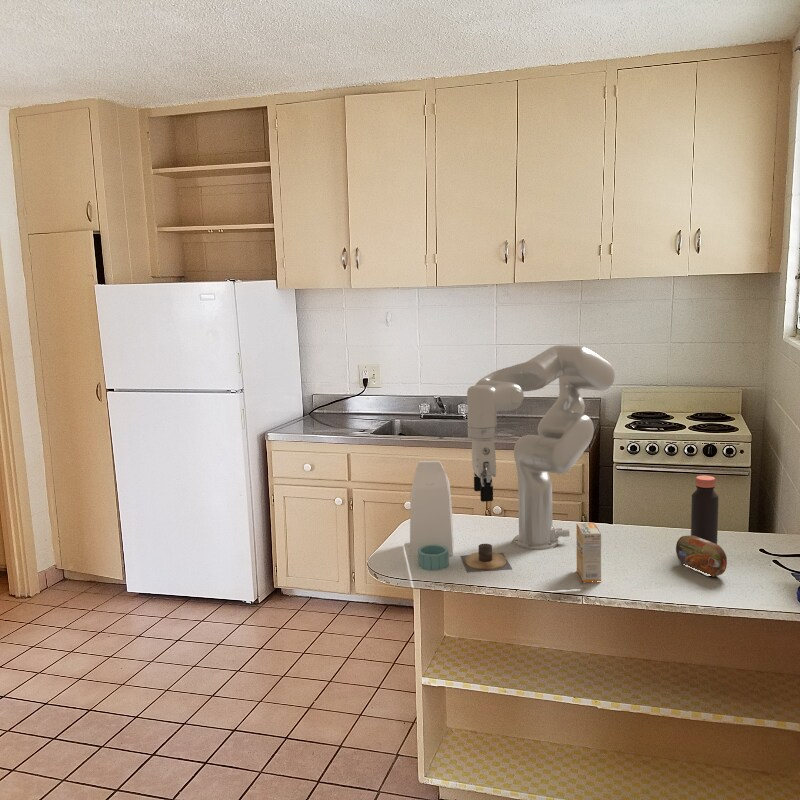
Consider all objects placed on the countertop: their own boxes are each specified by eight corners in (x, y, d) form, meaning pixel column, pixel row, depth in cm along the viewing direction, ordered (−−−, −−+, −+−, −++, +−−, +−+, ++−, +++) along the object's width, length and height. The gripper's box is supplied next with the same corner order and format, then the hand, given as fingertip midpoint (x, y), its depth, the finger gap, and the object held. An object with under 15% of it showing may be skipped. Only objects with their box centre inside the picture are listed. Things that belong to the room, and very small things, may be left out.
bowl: (446, 559, 208) (445, 544, 208) (450, 570, 200) (449, 554, 200) (417, 561, 208) (416, 545, 207) (420, 572, 200) (419, 556, 199)
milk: (454, 543, 221) (451, 456, 217) (453, 557, 210) (450, 466, 206) (413, 543, 222) (409, 456, 218) (409, 557, 211) (406, 467, 207)
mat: (503, 554, 210) (503, 552, 210) (512, 571, 199) (512, 569, 198) (460, 557, 210) (460, 555, 209) (467, 574, 198) (467, 572, 198)
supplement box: (575, 570, 197) (575, 522, 195) (594, 570, 197) (594, 521, 195) (582, 583, 189) (582, 533, 187) (601, 583, 189) (601, 532, 187)
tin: (674, 562, 200) (675, 531, 199) (683, 560, 201) (684, 529, 200) (719, 582, 186) (720, 549, 185) (728, 580, 188) (729, 547, 186)
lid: (501, 553, 210) (501, 537, 209) (510, 568, 199) (509, 551, 198) (462, 556, 209) (461, 540, 208) (468, 571, 198) (468, 554, 197)
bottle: (722, 550, 207) (724, 479, 203) (700, 553, 205) (702, 482, 202) (706, 542, 213) (708, 473, 210) (685, 545, 212) (686, 475, 208)
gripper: (503, 438, 190) (504, 504, 193) (490, 425, 207) (491, 486, 210) (473, 440, 189) (474, 506, 192) (462, 427, 206) (464, 487, 209)
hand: (483, 495), depth 201 cm, fingers open, 9 cm apart
